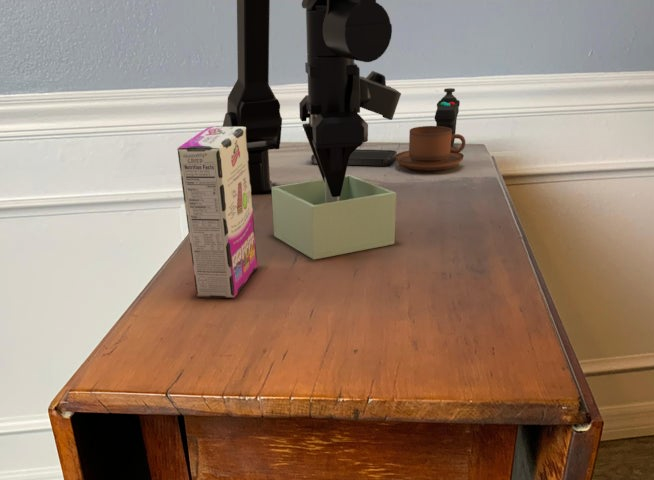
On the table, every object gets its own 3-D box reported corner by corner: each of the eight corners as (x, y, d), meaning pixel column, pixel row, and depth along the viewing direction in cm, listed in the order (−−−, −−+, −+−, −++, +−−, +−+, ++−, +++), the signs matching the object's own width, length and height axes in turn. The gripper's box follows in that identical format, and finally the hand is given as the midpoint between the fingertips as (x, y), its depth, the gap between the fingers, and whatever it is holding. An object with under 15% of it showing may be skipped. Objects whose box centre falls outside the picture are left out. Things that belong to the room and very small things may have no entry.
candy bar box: (220, 266, 101) (206, 125, 91) (258, 267, 100) (248, 125, 90) (193, 298, 92) (174, 145, 82) (234, 299, 91) (221, 145, 82)
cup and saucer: (443, 157, 148) (446, 121, 144) (474, 170, 139) (478, 132, 135) (384, 164, 145) (385, 127, 141) (412, 178, 136) (413, 139, 132)
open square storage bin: (274, 236, 111) (271, 186, 107) (350, 222, 115) (350, 174, 111) (313, 259, 102) (312, 206, 98) (394, 244, 106) (396, 192, 102)
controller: (457, 142, 158) (461, 86, 153) (453, 156, 149) (458, 96, 143) (436, 142, 159) (439, 86, 153) (430, 156, 149) (433, 96, 144)
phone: (389, 159, 142) (309, 156, 146) (389, 166, 143) (309, 163, 147) (398, 150, 149) (321, 148, 152) (397, 156, 149) (321, 154, 153)
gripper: (413, 59, 89) (407, 204, 98) (381, 43, 104) (378, 170, 113) (315, 64, 88) (318, 210, 97) (297, 47, 103) (301, 174, 112)
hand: (332, 189), depth 105 cm, fingers closed on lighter, 7 cm apart
